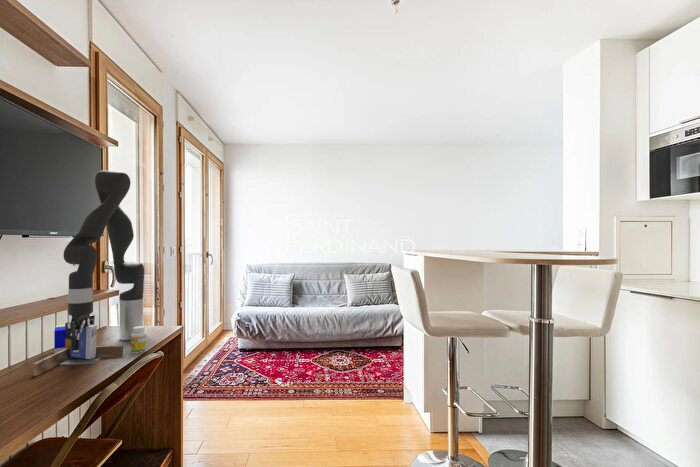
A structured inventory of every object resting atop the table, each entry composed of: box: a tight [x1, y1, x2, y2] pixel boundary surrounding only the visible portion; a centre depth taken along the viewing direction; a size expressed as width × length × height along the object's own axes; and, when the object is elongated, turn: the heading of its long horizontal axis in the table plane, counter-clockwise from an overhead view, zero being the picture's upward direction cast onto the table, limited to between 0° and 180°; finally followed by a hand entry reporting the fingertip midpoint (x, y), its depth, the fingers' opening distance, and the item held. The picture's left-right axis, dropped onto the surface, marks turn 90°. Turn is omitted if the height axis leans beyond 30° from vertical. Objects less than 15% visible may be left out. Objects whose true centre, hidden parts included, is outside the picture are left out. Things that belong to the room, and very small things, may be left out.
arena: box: [32, 345, 124, 377], centre depth 139 cm, size 19×19×4 cm
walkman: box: [70, 324, 98, 359], centre depth 145 cm, size 8×3×12 cm, turn 86°
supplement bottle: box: [130, 325, 148, 354], centre depth 155 cm, size 5×5×10 cm
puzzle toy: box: [53, 324, 71, 354], centre depth 154 cm, size 10×10×10 cm
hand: (80, 347), depth 143 cm, fingers open, 6 cm apart
